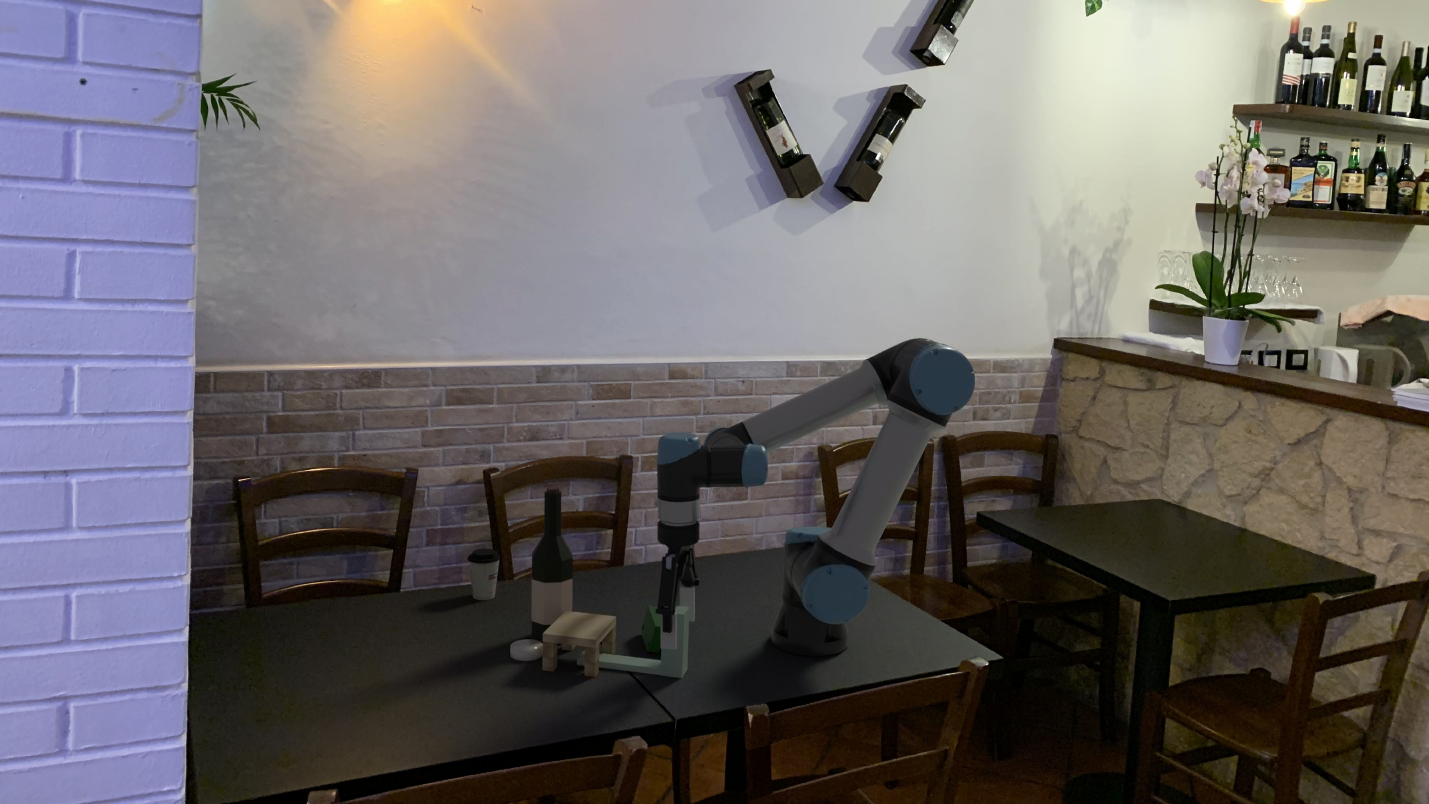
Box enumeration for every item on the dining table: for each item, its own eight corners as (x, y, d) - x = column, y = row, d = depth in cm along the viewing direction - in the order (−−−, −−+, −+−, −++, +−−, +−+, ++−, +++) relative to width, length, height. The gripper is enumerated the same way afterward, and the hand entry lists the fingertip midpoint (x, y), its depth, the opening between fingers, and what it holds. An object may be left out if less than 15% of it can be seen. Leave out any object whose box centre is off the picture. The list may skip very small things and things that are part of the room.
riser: (615, 651, 203) (616, 616, 202) (595, 676, 192) (595, 639, 191) (565, 645, 205) (566, 610, 204) (542, 670, 194) (542, 633, 193)
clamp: (671, 672, 206) (686, 638, 201) (641, 666, 204) (655, 632, 200) (669, 627, 216) (683, 595, 212) (641, 622, 215) (654, 589, 210)
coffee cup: (462, 600, 228) (461, 555, 226) (474, 589, 235) (474, 545, 233) (493, 603, 227) (493, 557, 225) (505, 592, 233) (505, 548, 232)
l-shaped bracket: (687, 669, 196) (689, 606, 195) (682, 678, 193) (684, 614, 191) (583, 656, 201) (584, 595, 199) (576, 664, 197) (577, 602, 195)
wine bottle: (564, 647, 204) (566, 495, 199) (523, 643, 206) (524, 491, 201) (578, 632, 212) (580, 485, 208) (539, 627, 214) (540, 481, 209)
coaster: (547, 651, 203) (547, 641, 203) (536, 663, 197) (536, 653, 197) (517, 647, 204) (517, 638, 204) (505, 660, 198) (505, 649, 198)
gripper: (675, 501, 203) (675, 608, 207) (638, 538, 179) (638, 658, 183) (714, 503, 202) (713, 611, 205) (681, 541, 177) (681, 663, 181)
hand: (678, 634), depth 194 cm, fingers open, 13 cm apart
